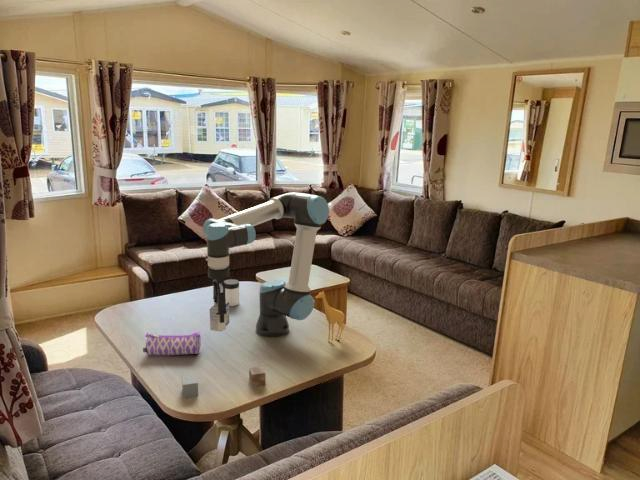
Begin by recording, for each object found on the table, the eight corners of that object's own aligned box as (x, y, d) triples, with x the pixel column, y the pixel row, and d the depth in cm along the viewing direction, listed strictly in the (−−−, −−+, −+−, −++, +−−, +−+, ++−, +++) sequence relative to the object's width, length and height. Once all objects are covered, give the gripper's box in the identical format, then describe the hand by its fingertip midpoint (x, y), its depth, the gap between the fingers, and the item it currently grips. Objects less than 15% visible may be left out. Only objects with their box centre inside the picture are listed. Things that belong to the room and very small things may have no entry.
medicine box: (221, 331, 172) (220, 309, 170) (209, 330, 173) (209, 308, 170) (229, 323, 179) (229, 301, 177) (218, 321, 180) (218, 300, 178)
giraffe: (317, 349, 202) (318, 294, 196) (311, 345, 206) (312, 290, 199) (347, 340, 211) (349, 287, 205) (341, 336, 215) (343, 284, 209)
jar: (239, 306, 245) (239, 284, 242) (223, 307, 243) (223, 285, 240) (238, 299, 254) (238, 278, 251) (223, 300, 252) (222, 279, 249)
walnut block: (262, 378, 179) (262, 366, 177) (265, 385, 174) (265, 372, 173) (249, 380, 177) (249, 368, 176) (251, 387, 172) (251, 374, 171)
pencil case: (143, 359, 189) (141, 338, 187) (148, 348, 198) (147, 327, 196) (200, 358, 192) (199, 336, 190) (202, 347, 201) (202, 326, 198)
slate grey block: (196, 388, 171) (196, 375, 170) (198, 395, 166) (197, 382, 165) (182, 390, 169) (182, 377, 168) (183, 397, 165) (182, 384, 163)
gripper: (204, 258, 179) (206, 314, 184) (211, 276, 159) (213, 338, 165) (224, 257, 181) (225, 312, 187) (234, 275, 161) (235, 335, 167)
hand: (220, 324), depth 176 cm, fingers closed on medicine box, 9 cm apart
